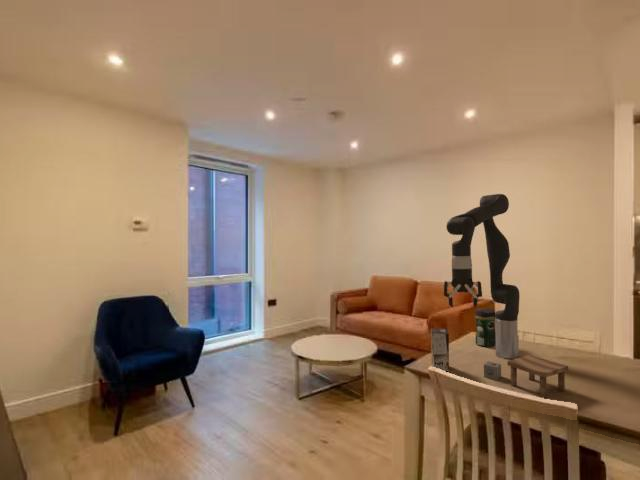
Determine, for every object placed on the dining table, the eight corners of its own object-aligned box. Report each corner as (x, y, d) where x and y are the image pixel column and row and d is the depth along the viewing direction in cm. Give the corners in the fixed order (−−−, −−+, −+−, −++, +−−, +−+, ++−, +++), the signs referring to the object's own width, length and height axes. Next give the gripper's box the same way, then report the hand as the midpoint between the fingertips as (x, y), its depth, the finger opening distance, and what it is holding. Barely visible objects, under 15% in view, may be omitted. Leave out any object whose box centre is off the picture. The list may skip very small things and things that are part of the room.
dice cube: (497, 380, 142) (497, 367, 142) (483, 377, 146) (483, 364, 146) (501, 376, 146) (501, 364, 146) (488, 373, 149) (488, 361, 149)
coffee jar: (486, 341, 192) (485, 306, 192) (498, 345, 185) (498, 309, 185) (472, 343, 188) (472, 308, 188) (484, 348, 181) (484, 311, 181)
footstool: (530, 377, 144) (530, 354, 144) (568, 390, 132) (568, 366, 132) (507, 384, 138) (507, 361, 138) (544, 399, 125) (544, 373, 125)
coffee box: (449, 372, 151) (449, 333, 150) (433, 371, 152) (432, 333, 152) (446, 364, 160) (446, 328, 159) (431, 363, 161) (430, 327, 161)
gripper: (479, 265, 148) (480, 305, 148) (442, 266, 152) (443, 304, 152) (482, 268, 141) (483, 309, 141) (443, 268, 145) (444, 308, 145)
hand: (462, 307), depth 147 cm, fingers open, 8 cm apart
